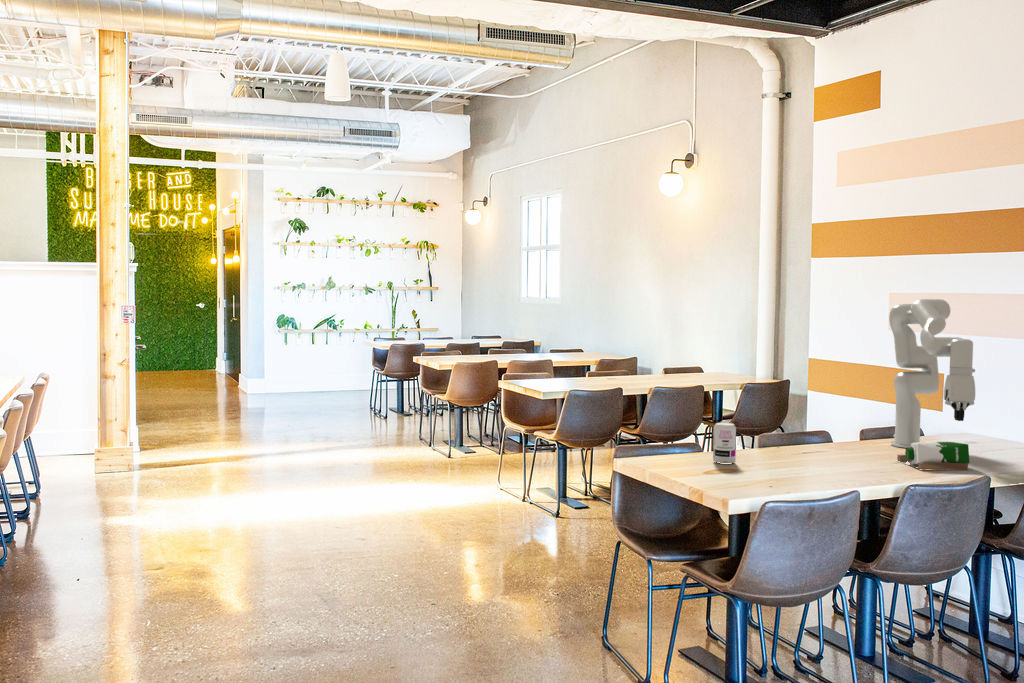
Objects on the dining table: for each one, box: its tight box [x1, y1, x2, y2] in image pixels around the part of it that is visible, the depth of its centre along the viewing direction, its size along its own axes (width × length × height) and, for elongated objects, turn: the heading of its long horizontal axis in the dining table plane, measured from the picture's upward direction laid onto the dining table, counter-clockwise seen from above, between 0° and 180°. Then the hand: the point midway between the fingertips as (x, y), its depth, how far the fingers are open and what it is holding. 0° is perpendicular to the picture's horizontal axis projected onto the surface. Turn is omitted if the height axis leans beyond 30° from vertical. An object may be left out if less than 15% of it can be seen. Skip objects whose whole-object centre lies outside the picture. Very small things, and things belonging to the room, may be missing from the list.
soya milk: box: [904, 441, 970, 465], centre depth 319 cm, size 9×9×20 cm
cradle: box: [896, 454, 969, 471], centre depth 321 cm, size 17×18×2 cm
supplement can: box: [712, 422, 737, 463], centre depth 325 cm, size 8×8×15 cm
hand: (959, 420), depth 321 cm, fingers closed
